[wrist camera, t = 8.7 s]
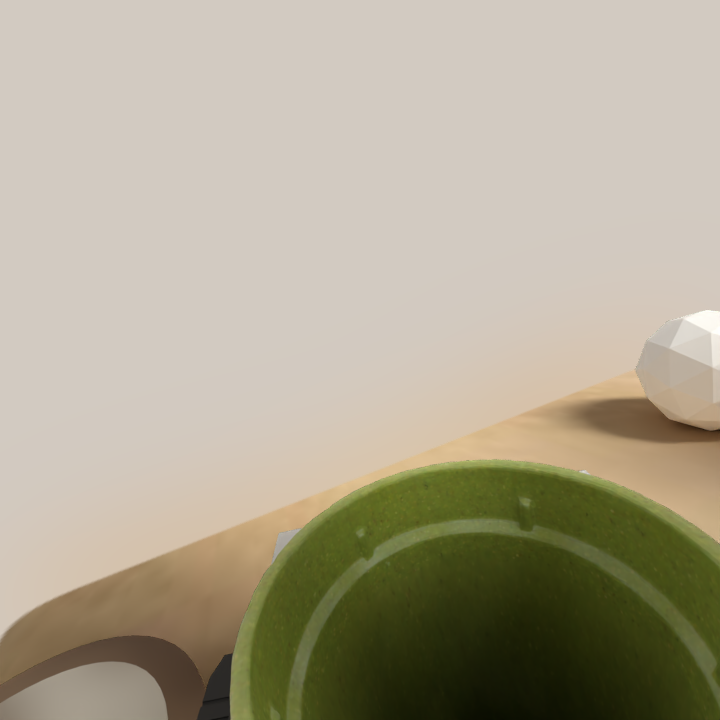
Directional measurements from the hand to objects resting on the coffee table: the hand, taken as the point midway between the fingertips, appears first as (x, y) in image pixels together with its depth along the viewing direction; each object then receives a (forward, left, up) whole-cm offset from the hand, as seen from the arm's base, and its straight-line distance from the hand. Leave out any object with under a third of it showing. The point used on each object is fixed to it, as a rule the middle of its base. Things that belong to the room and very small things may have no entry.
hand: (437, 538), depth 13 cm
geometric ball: (-20, +16, -6) cm, 26 cm away
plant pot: (+4, +2, -6) cm, 8 cm away
